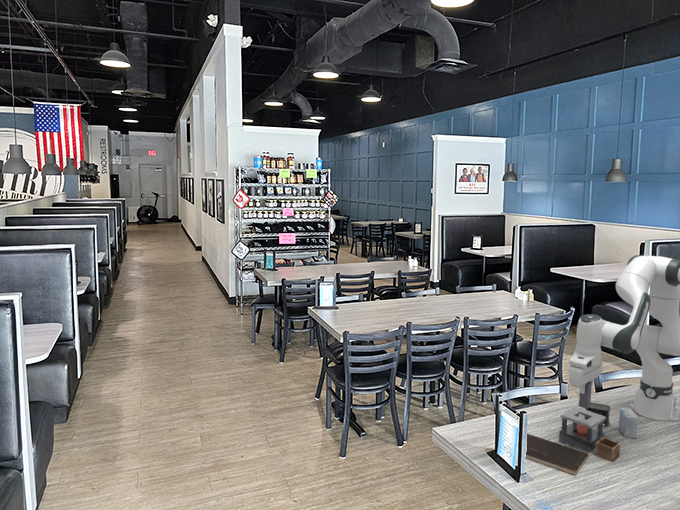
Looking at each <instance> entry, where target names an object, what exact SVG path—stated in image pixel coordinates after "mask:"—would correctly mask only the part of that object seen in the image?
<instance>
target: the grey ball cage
mask: <svg viewBox="0 0 680 510" xmlns="http://www.w3.org/2000/svg"><path fill="white" fill-rule="evenodd" d="M580 415H581V416H583V417H584V416H586V417H589V419H588V420H586V419H585V418H582V417H580ZM560 418H561V419H562V420H561V429H560V430H559V431H558V432H559V433H558V441H559V442H562V443H564V444H567V445H570V446H571V447H575V448H576V449H578V450H581V451H583V452H586V453H588V454H589V453H592V452H593V451H594V450H595V448H596V442H597V441H599V440H600V439H601V438H603V437H604V438H605V432H604V425H603V423H604V420H605V419H606V417H605V416H602V415H599V414H596V413H593V412H590V411H587V410H585V408H582V407H579V406H576V405H574V406H573V407H572V408H570V409H569V410H567V411H565V412H563V413H561V414H560ZM568 421H569V422H571V423H569V424H568ZM577 424H580V425H583V426H586V427H587V436H584V435H581V434H578V433H577ZM595 427H597V429H595Z"/></svg>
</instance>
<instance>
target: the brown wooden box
mask: <svg viewBox="0 0 680 510" xmlns="http://www.w3.org/2000/svg"><path fill="white" fill-rule="evenodd" d="M594 450H595V451H594V456H597V457H600V458H602V459H604V460H607V461H609V462H612V463H613V462H614V461H615V460H617V459H618V458H619V457H620V455H621V443H620V442H618V441H615V440H612V439H610V438H606V437H605V436H604V437H603V438H601V439H600V440H599V441H597V442H596V448H595V449H594Z"/></svg>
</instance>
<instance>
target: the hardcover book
mask: <svg viewBox="0 0 680 510" xmlns="http://www.w3.org/2000/svg"><path fill="white" fill-rule="evenodd" d="M587 458H589V452H587V451H584V450H580V449H577V448H573V447H570V446H567V445H563V444H561V443H559V442H555V441H552V440H549V439H545V438H542V437H540V436H537V435H533V434H530V433H527V452H526V459H528V460H531V461H534V462H537V463H539V464H543V465H546V466H547V467H548V466H549V467H552V468H553V469H556V470H560V471H562V472H564V473H568V474H571V475H574V476H576V475H577V473H578V471H579V470H581V468H582V466H583V465H584V463H585V462H586V460H587Z"/></svg>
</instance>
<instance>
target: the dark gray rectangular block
mask: <svg viewBox="0 0 680 510" xmlns="http://www.w3.org/2000/svg"><path fill="white" fill-rule="evenodd" d="M592 385H593V383H592V382H590V381H589V382H588V383H586V385H585V389H586V393H584V394H582V393H580V392H579V395H578V396H579V398H578V407H579V408H582V409H584V410H585V409H587V408H589V407H590V401H592V400H591V399H592Z"/></svg>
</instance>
